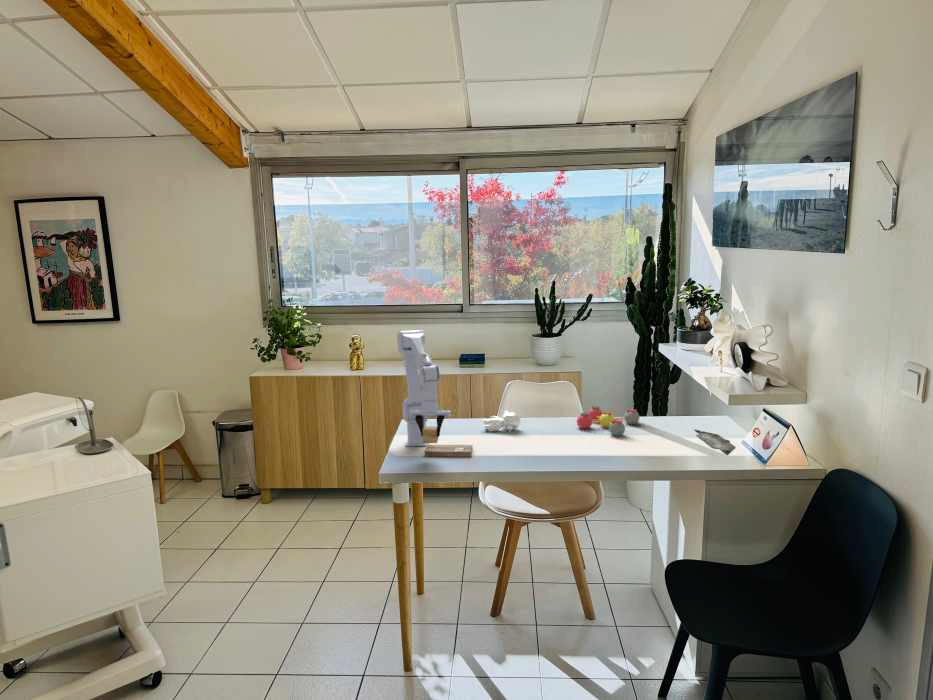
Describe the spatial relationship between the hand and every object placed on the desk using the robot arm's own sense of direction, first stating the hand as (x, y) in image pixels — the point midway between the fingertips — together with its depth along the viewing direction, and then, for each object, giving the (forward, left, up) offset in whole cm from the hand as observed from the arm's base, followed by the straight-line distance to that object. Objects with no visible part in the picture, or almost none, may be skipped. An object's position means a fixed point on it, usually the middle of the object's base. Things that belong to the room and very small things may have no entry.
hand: (430, 435), depth 233 cm
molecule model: (-42, +69, -9) cm, 81 cm away
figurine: (-36, +25, -9) cm, 45 cm away
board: (-7, +6, -8) cm, 12 cm away
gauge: (-2, 0, -2) cm, 2 cm away
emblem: (-23, +107, -9) cm, 110 cm away
